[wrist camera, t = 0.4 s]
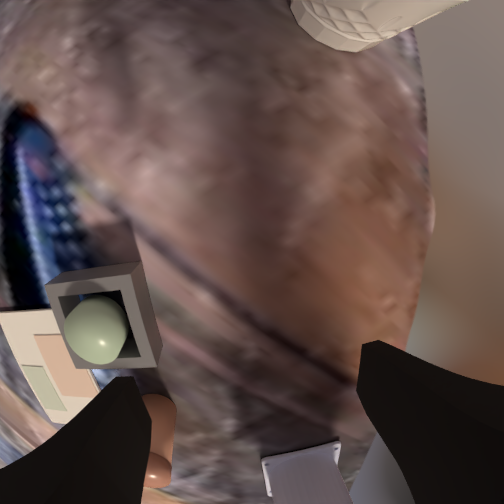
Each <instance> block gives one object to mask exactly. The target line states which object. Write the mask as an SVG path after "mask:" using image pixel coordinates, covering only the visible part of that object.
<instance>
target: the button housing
mask: <svg viewBox="0 0 504 504" xmlns="http://www.w3.org/2000/svg"><path fill="white" fill-rule="evenodd" d="M44 286H45V289H46V292H47V296H48V299H49V302H50V305H51V308H52V311H53V314H54V317H55V319H56V322H57V325H58V327H59V330H60V333H61V335H62V338H63V340H64V343H65V345H66V348H67V350H68V352H69V355H70V357H71V359H72V361H73V364H74V366H75V368H76V369H126V368H149V367H157V365H158V362H159V358H160V354H161V350H162V347H163V344H162V341H161V337H160V334H159V330H158V327H157V323H156V319H155V316H154V312H153V308H152V304H151V300H150V296H149V292H148V288H147V283H146V279H145V274H144V270H143V265H142V261H137V262H130V263H123V264H116V265H109V266H102V267H95V268H88V269H81V270H74V271H67V272H62V273H61V274H59V275H58V276H56V277H55V278H54V279H52V280H51V281H49V282H48V283H47V284H45V285H44ZM115 290H121V293H122V297H123V301H124V304H125V308H126V311H127V315H128V318H129V322H130V325H131V328H132V331H133V334H134V337H135V338H126V340H125V342H124V344H123V346H122V348H121V350H120V352H119V354H118V356H117V358H116V359H115V360H114V361H112V362H110V363H108V364H94V363H91V362H88V361H86V360H84V359H83V358H81V357H80V356H78V355H77V354H76V353H75V352H74V351H73V350H72V348H71V347H70V345H69V344H68V342H67V340H66V337H65V333H64V323H65V320H66V318H67V316H68V315H69V314H70V313H71V312H72V311H73V309H74V308H75V307H76V306H77V305H78V304H79V303H80V299H79V296H78V295H79V294H88V293H97V292H106V291H115Z"/></svg>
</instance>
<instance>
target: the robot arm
mask: <svg viewBox="0 0 504 504" xmlns="http://www.w3.org/2000/svg"><path fill="white" fill-rule="evenodd" d="M356 391H357V394H358V396H359V398H360V401H361V403H362V405H363V408H364V410H365V412H366V414H367V416H368V417H369V419H370V421H371V422H372V424H373V425H374V427H375V428H376V430H377V432H378V433H379V435H380V436H381V438H382V439H383V441H384V442H385V444H386V446H387V447H388V449H389V450H390V452H391V453H392V455H393V457H394V458H395V460H396V461H397V463H398V465H399V467H400V469H401V471H402V473H403V475H404V477H405V479H406V482H407V484H408V486H409V488H410V491H411V493H412V495H413V499H414V501H415V504H504V386H501V385H496V384H491V383H487V382H482V381H479V380H475V379H471V378H467V377H465V376H462V375H459V374H456V373H453V372H451V371H448V370H445V369H443V368H440V367H438V366H435V365H433V364H431V363H428V362H426V361H424V360H422V359H419V358H417V357H415V356H413V355H411V354H409V353H407V352H404V351H402V350H400V349H398V348H396V347H394V346H392V345H389V344H387V343H385V342H382V341H380V340H376V341H373V342H369V343H365V344H362V349H361V358H360V367H359V374H358V381H357V388H356ZM151 433H152V419H151V417H150V415H149V413H148V410H147V408H146V406H145V404H144V401H143V399H142V397H141V394H140V392H139V389H138V387H137V385H136V382H135V380H134V377H133V376H130V377H115V378H114V379H113V380H112V381H111V382H110V383H109V384H107V385H106V386H105V387H104V388H103V389H102V390H101V391H100V392H99V393H98V394H97V395H96V396H95V397H94V398H93V399H92V400H91V401H90V402H89V403H88V404H87V405H86V406H85V407H84V408H83V409H82V410H81V411H80V412H79V413H78V414H77V415H76V416H75V417H74V418H73V419H71V420H70V421H69V422H68V423H67V424H66V425H65V426H64V427H62V428H61V429H60V430H59V431H58V432H57V433H56V434H54V435H53V436H52V437H51V438H50V439H48V440H47V441H46V442H44V443H43V444H42V445H40V446H39V447H37V448H36V449H34V450H33V451H32V452H30V453H29V454H27V455H25V456H24V457H22V458H20V459H18V460H16V461H15V462H13V463H11V464H9V465H7V466H6V467H4V468H1V469H0V504H141V498H142V492H143V486H144V480H145V475H146V469H147V464H148V459H149V453H150V447H151ZM340 448H341V443H340V441H335V442H332V443H328V444H324V445H320V446H317V447H313V448H308V449H304V450H300V451H295V452H291V453H286V454H281V455H275V456H269V457H264V458H262V459H261V463H262V468H263V473H264V479H265V484H266V489H267V494H268V496H272V497H273V502H274V504H353V502H352V499H351V497H350V495H349V492H348V490H347V488H346V485H345V483H344V481H343V478H342V476H341V474H340V471H339V469H338V467H337V463H338V458H339V453H340Z"/></svg>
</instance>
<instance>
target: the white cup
mask: <svg viewBox="0 0 504 504" xmlns="http://www.w3.org/2000/svg"><path fill="white" fill-rule="evenodd" d="M466 1H469V0H291V5H290V9H291V11H292V13H293V15H294V17H295V19H296V21H297V23H298V25H299V26H300V27H302V28H303V29H304V30H305V31H306V32H307V33H308V34H309V35H310V36H311V37H313V38H314V39H315V40H317V41H319V42H321V43H323V44H325V45H327V46H329V47H331V48H333V49H336V50H343V51H350V52H359V51H362V50H365V49H368V48H371V47H373V46H375V45H377V44H378V43H380V42H382V41H383V40H385V39H388V38H391V37H393V36H395V35H397V34H399V33H401V32H402V31H404V30H406V29H409V28H411V27H413V26H415V25H417V24H419V23H421V22H423V21H425V20H427V19H429V18H431V17H433V16H435V15H437V14H439V13H441V12H443V11H446V10H448V9H450V8H452V7H454V6H457V5H459V4H462V3H464V2H466Z"/></svg>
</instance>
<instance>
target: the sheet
mask: <svg viewBox="0 0 504 504" xmlns="http://www.w3.org/2000/svg"><path fill="white" fill-rule="evenodd" d="M0 324H1V326H2V329H3V331H4V333H5V336H6V338H7V340H8V343H9V345H10V347H11V349H12V352H13V354H14V356H15V358H16V360H17V362H18V364H19V366H20V368H21V370H22V372H23V374H24V376H25V378H26V380H27V381H28V383H29V385H30V387H31V389H32V390H33V392H34V394H35V396H36V397H37V399H38V401H39V402H40V404H41V405H42V407H43V409H44V410H45V412H46V413H47V415H48V416H49V418H50V419H51V421H52V422H56V423H62V424H67V423H68V422H69V421H70V420H71V419H73V418H74V417H75V416H76V415H77V414H78V413H79V412H80V411H81V410H82V409H83V408H84V407H85V406H86V405H87V404H88V403H89V402H90V401H91V400H92V399H93V398H94V397H95V396H96V395H97V394H98V393H99V392H100V391H101V389H100V387H99V385H98V383H97V381H96V379H95V377H94V375H93V372H92V370H91V369H76V368H75V366H74V364H73V361H72V359H71V357H70V355H69V352H68V350H67V348H66V345H65V343H64V340H63V338H62V335H61V333H60V330H59V327H58V325H57V322H56V319H55V317H54V314H53V311H52V308H49V309H36V310H21V311H4V312H0Z"/></svg>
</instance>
